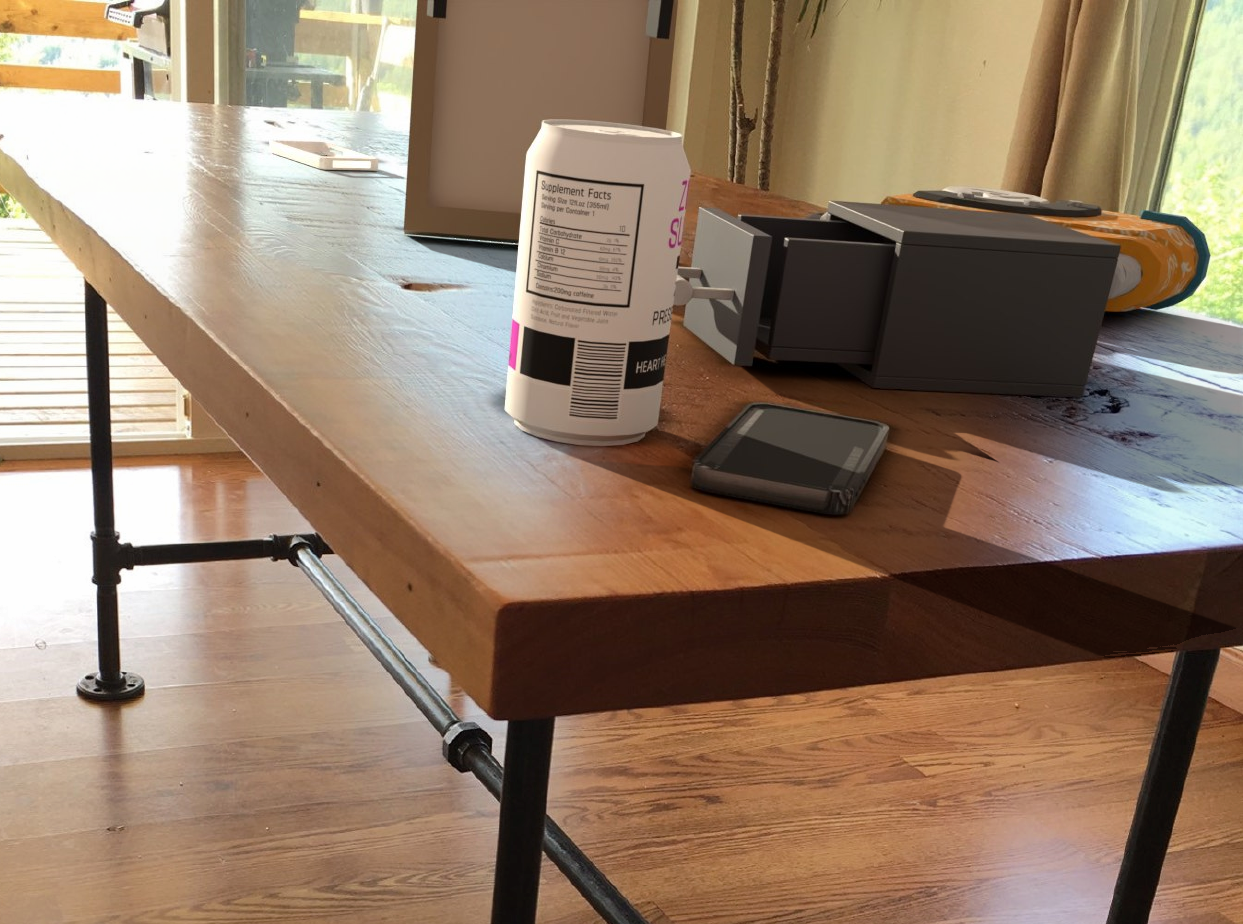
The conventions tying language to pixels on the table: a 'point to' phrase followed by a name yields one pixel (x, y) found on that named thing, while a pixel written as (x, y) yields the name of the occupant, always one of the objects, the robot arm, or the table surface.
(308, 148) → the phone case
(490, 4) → the photo frame
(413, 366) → the table surface
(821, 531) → the table surface
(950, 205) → the device
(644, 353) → the supplement can
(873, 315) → the drawer
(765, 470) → the phone
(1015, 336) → the small grey cabinet
